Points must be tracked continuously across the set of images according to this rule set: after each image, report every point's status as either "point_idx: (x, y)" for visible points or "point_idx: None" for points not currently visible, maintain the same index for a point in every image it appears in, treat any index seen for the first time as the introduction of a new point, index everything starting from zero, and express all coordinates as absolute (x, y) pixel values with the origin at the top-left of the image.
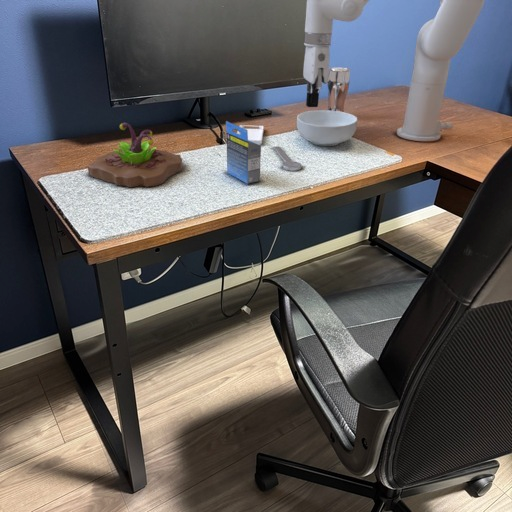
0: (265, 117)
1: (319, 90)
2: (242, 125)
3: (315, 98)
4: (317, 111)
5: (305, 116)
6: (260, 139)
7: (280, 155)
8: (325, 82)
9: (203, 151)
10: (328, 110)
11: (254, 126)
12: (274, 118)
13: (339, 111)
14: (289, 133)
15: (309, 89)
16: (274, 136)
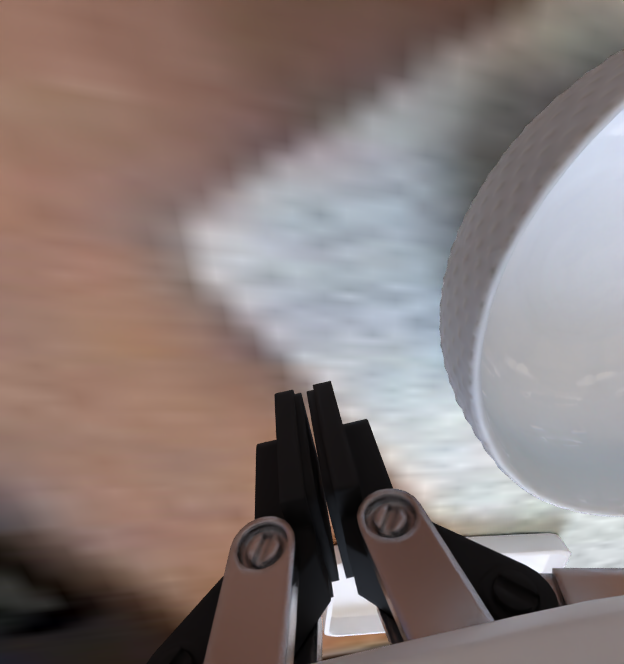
0: (60, 554)
1: (433, 527)
2: (328, 627)
3: (384, 470)
4: (479, 381)
5: (513, 449)
6: (560, 554)
7: None
8: (616, 621)
9: None
10: (499, 283)
11: (333, 589)
12: (67, 515)
13: (576, 157)
14: (387, 437)
15: (320, 622)
16: (436, 496)
